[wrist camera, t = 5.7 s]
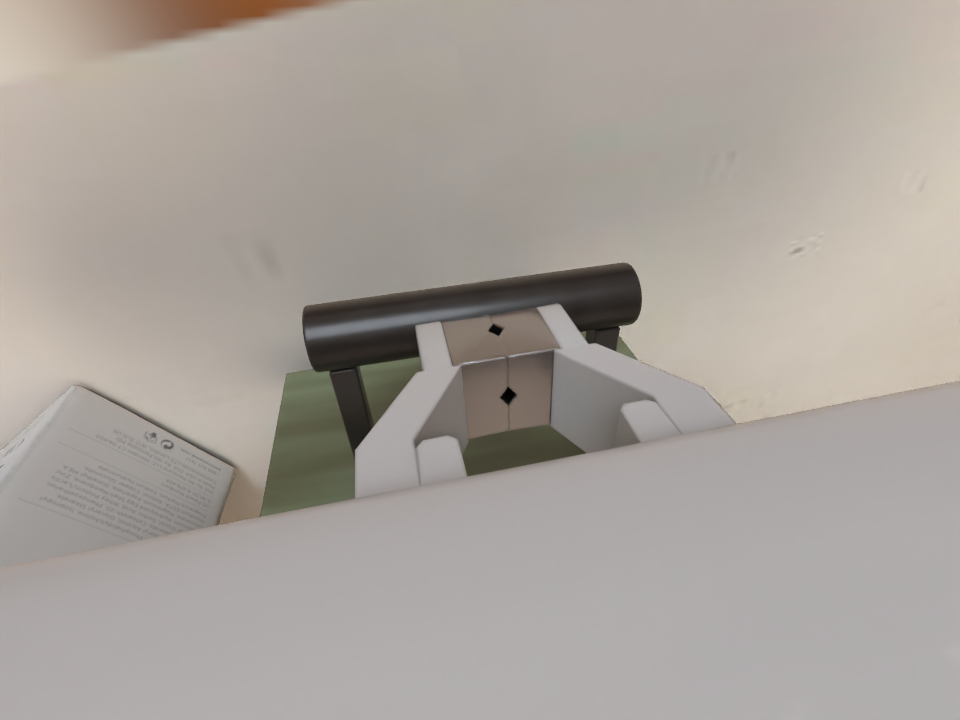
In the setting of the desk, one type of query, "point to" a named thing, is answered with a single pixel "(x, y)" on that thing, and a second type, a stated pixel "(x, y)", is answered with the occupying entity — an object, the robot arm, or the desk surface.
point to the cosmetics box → (101, 481)
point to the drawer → (395, 359)
